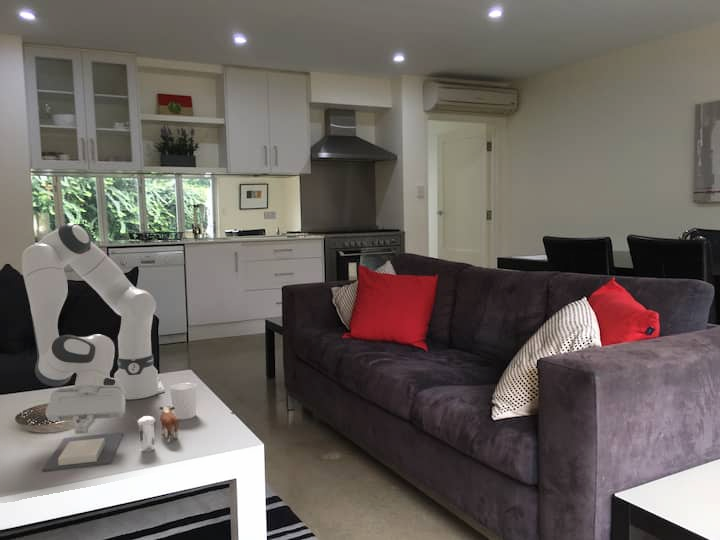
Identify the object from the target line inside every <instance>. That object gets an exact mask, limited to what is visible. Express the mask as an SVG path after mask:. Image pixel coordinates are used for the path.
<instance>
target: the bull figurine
mask: <svg viewBox="0 0 720 540" xmlns="http://www.w3.org/2000/svg"><path fill="white" fill-rule="evenodd" d="M174 409H175V408H174V407H173V406H172V405H170V404H169V403H167V404H165V405H164V406H159V410H160V411H162V412H161V415H160V419H159V420H160V422H161V430H162V431H161V435H162V436H163V435H166V432H167V441H166V443H167V444H170V443H171V435H174V439H177V440H178V439H179V436H178V435H179V431H178V428H179V426H180V425H179V424H180V423H179V421H180V420H179V419H177V418H176V417H175V416H174V412H173V411H174ZM165 430H167V431H165Z"/></svg>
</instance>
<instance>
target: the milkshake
mask: <svg viewBox="0 0 720 540" xmlns="http://www.w3.org/2000/svg"><path fill="white" fill-rule="evenodd" d="M134 418H135V420H136V422H137V428H138V433H139V441H140V447H141V451H142V452H146V453H148V452H152V451H153V450H155V432H156V431H155V430H156V429H155V428H156V418H155V417H154V416H150V415H143V416H142V417H140V418H139V419H137V418H136V416H135V415H134Z"/></svg>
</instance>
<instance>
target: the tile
mask: <svg viewBox="0 0 720 540" xmlns="http://www.w3.org/2000/svg"><path fill="white" fill-rule="evenodd" d="M104 445H105V438H99V439H90V440H80V441H71V442H69V443H68V444H67V446H66V447H65V449H64V450H63V452H62V453H61V455H60V457H59V458H58V465H60V466H63V465H72V464H81V463H89V462H96V461H97V459H98V457H99V455H100V453H101V451H102V449H103V447H104Z"/></svg>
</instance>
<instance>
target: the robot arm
mask: <svg viewBox="0 0 720 540" xmlns="http://www.w3.org/2000/svg"><path fill="white" fill-rule="evenodd" d="M68 265H69V266H70V268H71V269H73V270H74V272H75V273H76V274H78V276H80V277H81V279H83V280H84V281H85V283H87V284H88V286H90V287H91V288H92V289H93V290H94V291H96V293H97V294H98V295H99V296H100V298H101V299H102V300H103V301H104V303H106V304H107V305H108V306H109V308H110V309H112V310H113V312H114V313H115V314H116V315H118V316H120V317H121V318H120V319H121V320H120V327H119V333H118V335H117V343H118V357H117V367H118V369H117V371H115V373H114V375H113V377H114V378H113V377H111V376H110V375H111V371H112V369H113V366H114V360H115V352H116V351H115V350H116V349H115V344H114V341H113V340H112V339H111V338H110V337H108V336H107V335H104V334H99V333H98V334H97V333H96V334H92V335H88V336H77V335H72V334H64V335H60V334H59V329H58V323H59V317H60V314H61V311H62V308H63V306H64V304H65V301H66V299H67V297H68V293H69V291H68V289H69V288H68V285H69V284H68V278H67V275H66V272H65V267H67V266H68ZM21 269H22V277H23V280H24V285H25V289H26V294H27V297H28V302H29V305H30V313H31V319H32V327H33V334H34V339H35V340H34V341H35V345H36V352H37V360H36V363H35V367H34V373H35V374H34V375H35V376H36V378H37V379H38V380H39V381H40V382H41V383H42V384H44V385H47V386H51V387H60V386H64V385H66V384H67V383H68V382H69V381H70V380H71V378H72V377H73V375H74V374H76V379H75V383H74V386H73V387H67V388H58V389H57V390H54V391H53V392H51V395H50V398H49V402H48V404H47V406H46V409H45V413H44V414H45V416H46V418H47V419H48V420H49V421H50V422H60V421H61V422H62V421H73V423H74V426H75V428H74V434H76V435H81V434H82V435H83V434H88V433H89V428H91V426H92V425H93V424H94V423H95V420H97V419H98V420H99V419H100V420H101V419H113V418H116V419H117V418H118V419H119V418H122V417H123V415H124V414H125V412H126V400H140V399H145V398H146V399H147V398H149V397H150V398H151V397H152V396H155V395H157V394H161V393H165V392H166V391H165V390H166V389H165V387H164V385H163V383H162V382H161V380H160V378H159V374H158V369H157V368H156V367H155V366H154V356H153V353H152V341H151V340H152V339H151V338H152V337H151V334H152V332H151V331H152V326H153V319H154V318H153V317H154V314H155V312H156V310H157V302H156V300H155V298H154V296H153V295H152V294H151V293H150V292H148V291H147V290H146V289H145V290H144V289H140V288H137V287H136V286H134V284H133V283H131V281H130V280H129V279H128V278H127V276H126V275H125V273H124V272H123V270H122V269H121V268H120V267H119V266H118V265H117V263H115V262H114V261H113V260H112V258H110V257H109V255H107V254H106V253H105V252H104V251H103V250H102V249H101V248H100V247H98V246H97V245H96V244H95V243H93V242H92V240H91V237H90V234H89V233H88V231H87V230H86V229H85V227H83V226H81V225H80V224H79V223H78V224H77V223H74V222H68V223H65V224H63V225H60V226H59V227H58V228H57V229H55V230H53V231H51V232H49V233H47V234H46V235H44V237H43V238H41V239H40V240H39V241H38V242H37V243H35V244H32V245H30V246H28V247H26V248H25V249H24V251H23V253H22V255H21ZM82 420H87V421H86V422H85V423H84V424H82V425H80V423H82V422H81V421H82Z"/></svg>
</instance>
